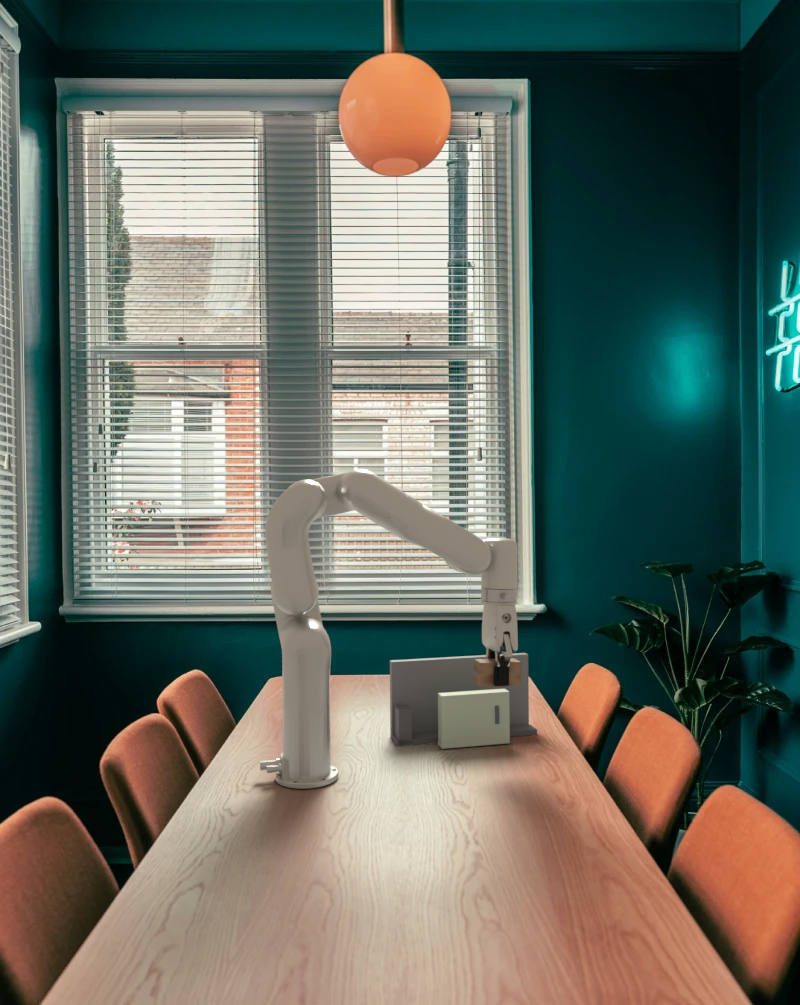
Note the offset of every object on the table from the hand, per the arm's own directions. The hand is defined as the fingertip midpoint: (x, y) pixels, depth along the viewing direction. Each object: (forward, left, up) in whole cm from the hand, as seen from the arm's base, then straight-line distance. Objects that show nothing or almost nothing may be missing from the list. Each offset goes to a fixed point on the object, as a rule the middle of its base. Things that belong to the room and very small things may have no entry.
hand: (497, 681), depth 163 cm
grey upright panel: (-1, +19, -17) cm, 26 cm away
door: (-1, +12, -17) cm, 21 cm away
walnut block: (0, 0, 0) cm, 0 cm away
